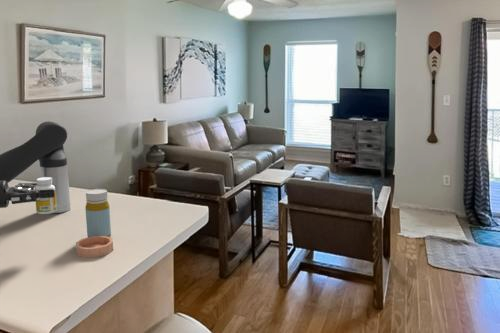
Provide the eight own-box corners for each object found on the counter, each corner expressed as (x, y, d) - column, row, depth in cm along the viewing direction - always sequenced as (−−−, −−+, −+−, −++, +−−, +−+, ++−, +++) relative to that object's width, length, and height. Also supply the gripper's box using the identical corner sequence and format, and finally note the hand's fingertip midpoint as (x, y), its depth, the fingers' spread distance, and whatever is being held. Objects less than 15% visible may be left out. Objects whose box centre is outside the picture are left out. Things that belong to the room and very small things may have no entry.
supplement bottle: (50, 207, 128) (47, 175, 127) (61, 211, 125) (58, 178, 124) (32, 212, 124) (29, 179, 122) (43, 215, 121) (40, 181, 119)
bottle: (91, 233, 140) (88, 188, 137) (113, 233, 141) (110, 188, 138) (84, 241, 133) (81, 194, 130) (108, 241, 134) (105, 194, 131)
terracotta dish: (69, 255, 123) (68, 247, 122) (88, 242, 132) (87, 234, 132) (102, 258, 121) (101, 250, 121) (119, 245, 131) (118, 237, 130)
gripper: (-6, 201, 126) (58, 196, 132) (-17, 216, 113) (54, 210, 119) (-9, 176, 125) (56, 172, 130) (-20, 188, 111) (52, 183, 117)
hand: (55, 190), depth 124 cm, fingers closed on supplement bottle, 5 cm apart
